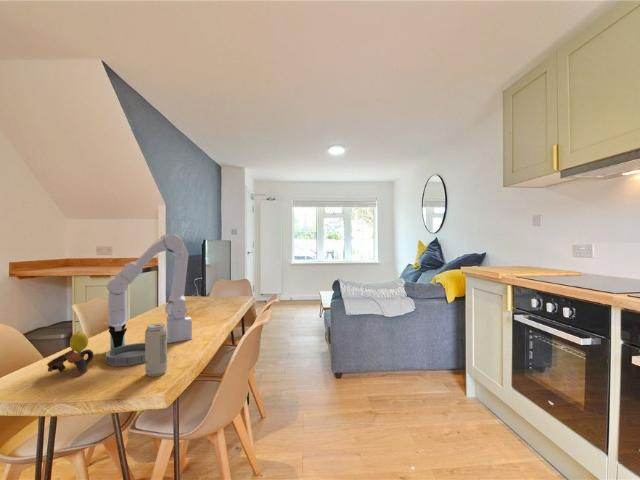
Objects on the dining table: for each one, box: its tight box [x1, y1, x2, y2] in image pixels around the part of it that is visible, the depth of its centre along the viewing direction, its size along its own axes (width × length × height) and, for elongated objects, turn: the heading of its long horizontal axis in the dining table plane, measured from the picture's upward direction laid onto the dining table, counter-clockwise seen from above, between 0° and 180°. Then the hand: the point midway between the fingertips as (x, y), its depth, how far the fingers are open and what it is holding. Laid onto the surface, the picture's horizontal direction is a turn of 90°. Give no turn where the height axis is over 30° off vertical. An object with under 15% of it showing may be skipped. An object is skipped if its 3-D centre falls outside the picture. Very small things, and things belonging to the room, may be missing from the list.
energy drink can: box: [144, 322, 168, 378], centre depth 102 cm, size 6×6×15 cm
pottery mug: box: [46, 349, 94, 379], centre depth 104 cm, size 12×10×8 cm
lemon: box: [69, 330, 89, 353], centre depth 122 cm, size 6×6×8 cm
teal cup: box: [110, 334, 126, 350], centre depth 124 cm, size 5×5×6 cm
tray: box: [105, 342, 145, 368], centre depth 116 cm, size 16×16×3 cm
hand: (117, 345), depth 124 cm, fingers closed on teal cup, 5 cm apart
